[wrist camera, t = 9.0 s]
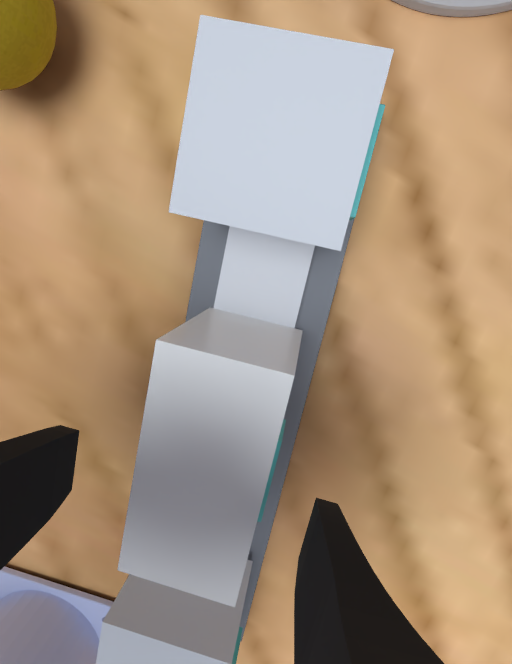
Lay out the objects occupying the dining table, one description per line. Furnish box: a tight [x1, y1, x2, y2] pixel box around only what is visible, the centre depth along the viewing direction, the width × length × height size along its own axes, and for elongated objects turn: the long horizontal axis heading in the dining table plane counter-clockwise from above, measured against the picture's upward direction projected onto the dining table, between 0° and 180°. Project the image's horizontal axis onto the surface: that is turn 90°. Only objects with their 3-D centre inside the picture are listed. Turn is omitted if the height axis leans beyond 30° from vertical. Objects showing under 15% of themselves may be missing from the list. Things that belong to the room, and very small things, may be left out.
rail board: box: [96, 15, 394, 664], centre depth 17 cm, size 26×6×7 cm, turn 168°
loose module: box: [118, 308, 303, 607], centre depth 15 cm, size 4×8×6 cm, turn 167°
